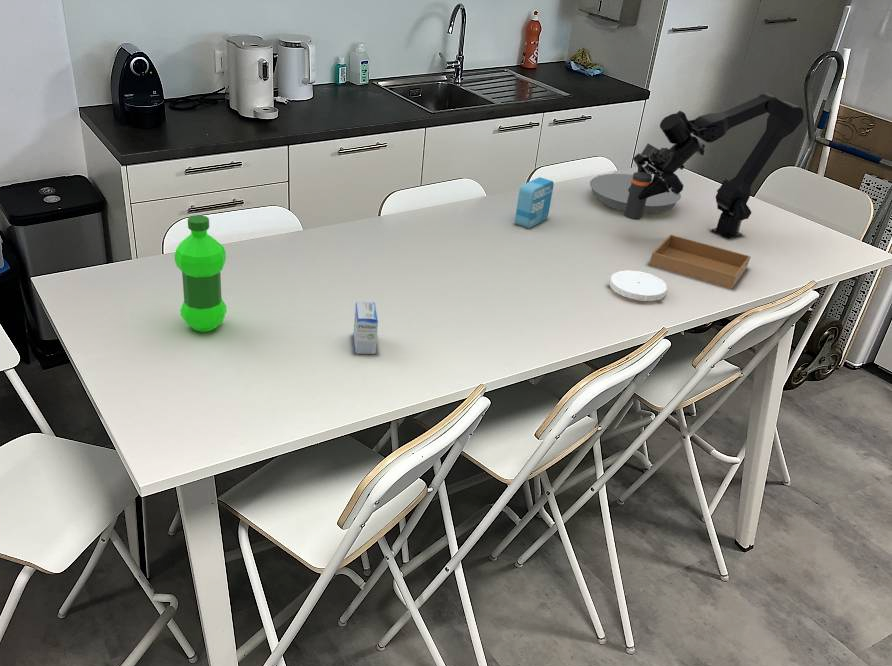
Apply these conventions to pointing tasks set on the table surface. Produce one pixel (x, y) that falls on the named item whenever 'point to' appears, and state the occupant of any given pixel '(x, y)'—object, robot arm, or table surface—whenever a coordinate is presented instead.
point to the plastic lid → (638, 285)
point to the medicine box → (365, 328)
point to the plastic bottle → (201, 276)
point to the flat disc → (616, 193)
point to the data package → (534, 202)
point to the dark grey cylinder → (637, 187)
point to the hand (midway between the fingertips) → (633, 195)
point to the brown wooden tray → (700, 261)
